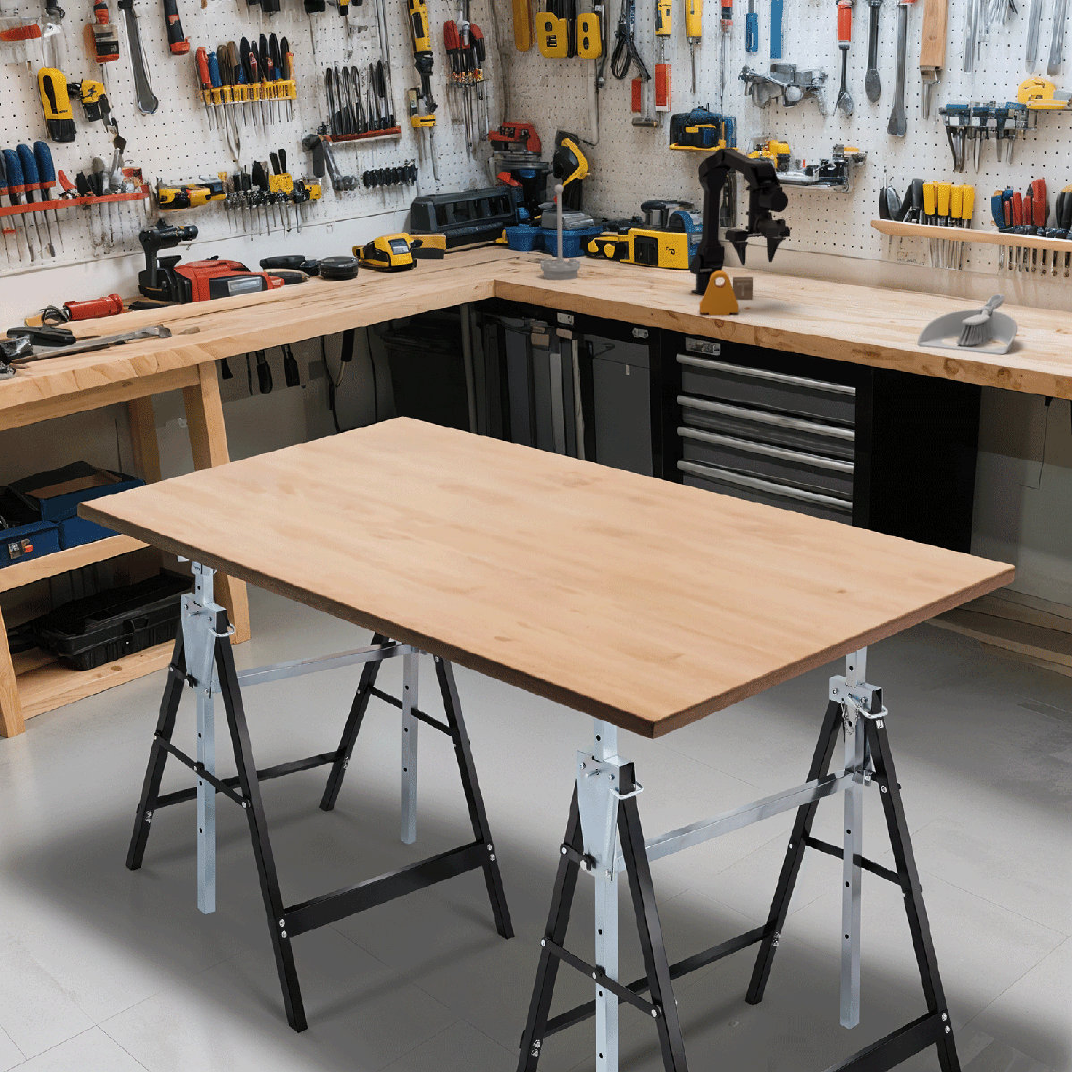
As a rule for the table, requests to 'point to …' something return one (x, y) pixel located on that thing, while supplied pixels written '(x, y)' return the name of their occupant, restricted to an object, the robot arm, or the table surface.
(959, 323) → the dustpan and brush
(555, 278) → the flag stand
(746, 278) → the letter block
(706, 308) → the bracket
